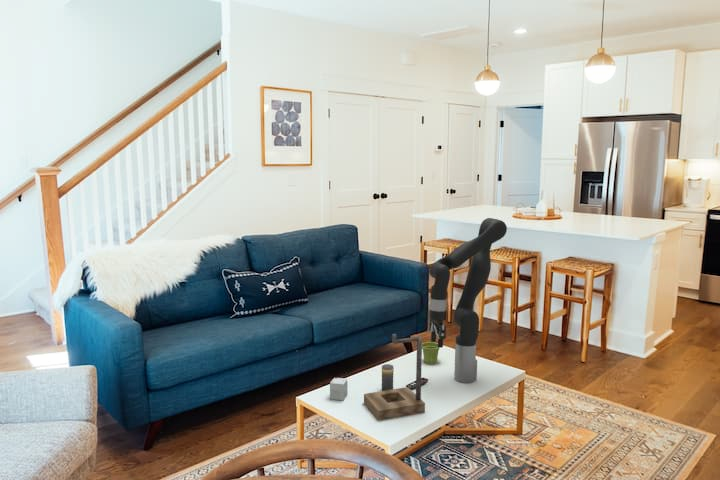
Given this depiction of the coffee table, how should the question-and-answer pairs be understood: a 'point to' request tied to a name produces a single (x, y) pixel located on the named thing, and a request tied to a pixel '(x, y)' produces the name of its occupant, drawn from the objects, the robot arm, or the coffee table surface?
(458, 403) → the coffee table surface
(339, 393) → the skincare box
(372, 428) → the coffee table surface
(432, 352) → the plant pot
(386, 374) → the banded grey cylinder
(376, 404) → the wooden gallows stand
